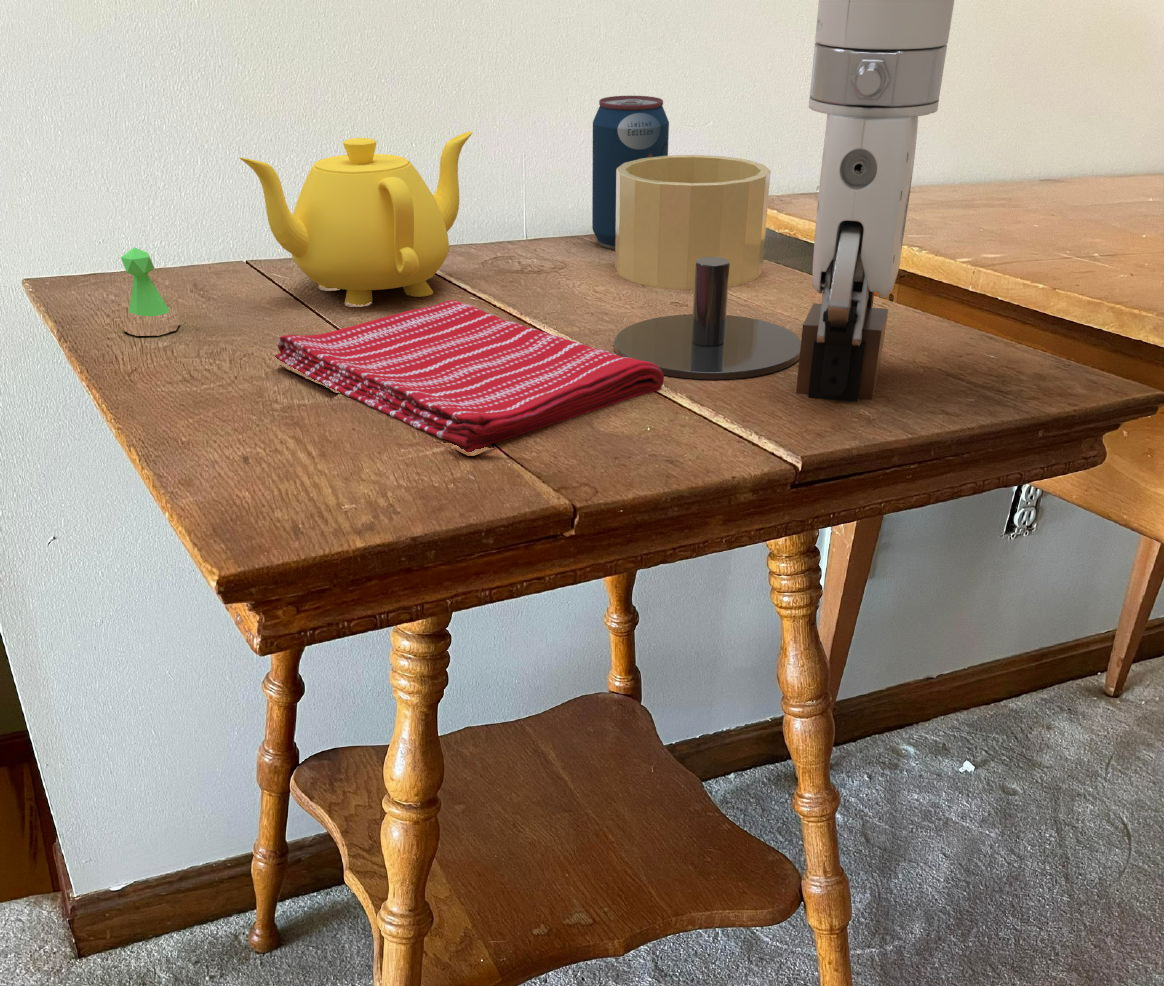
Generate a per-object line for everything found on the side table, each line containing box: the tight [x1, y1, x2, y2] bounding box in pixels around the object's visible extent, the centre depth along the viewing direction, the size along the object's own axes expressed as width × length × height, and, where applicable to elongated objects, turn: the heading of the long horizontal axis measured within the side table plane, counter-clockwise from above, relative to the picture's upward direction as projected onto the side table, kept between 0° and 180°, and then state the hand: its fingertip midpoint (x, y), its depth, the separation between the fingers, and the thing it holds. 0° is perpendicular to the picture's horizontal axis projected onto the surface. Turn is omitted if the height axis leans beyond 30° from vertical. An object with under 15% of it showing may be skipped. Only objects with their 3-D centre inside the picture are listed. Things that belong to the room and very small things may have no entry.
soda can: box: [591, 95, 670, 250], centre depth 110 cm, size 7×7×12 cm
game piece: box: [120, 247, 170, 316], centre depth 91 cm, size 4×4×6 cm
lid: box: [613, 257, 801, 381], centre depth 85 cm, size 14×14×7 cm
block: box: [795, 302, 889, 401], centre depth 79 cm, size 5×5×5 cm
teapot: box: [238, 130, 473, 305], centre depth 97 cm, size 20×15×12 cm
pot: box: [614, 154, 771, 291], centre depth 102 cm, size 13×13×8 cm
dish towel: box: [274, 299, 665, 452], centre depth 82 cm, size 17×24×3 cm
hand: (837, 385), depth 81 cm, fingers closed on block, 5 cm apart
